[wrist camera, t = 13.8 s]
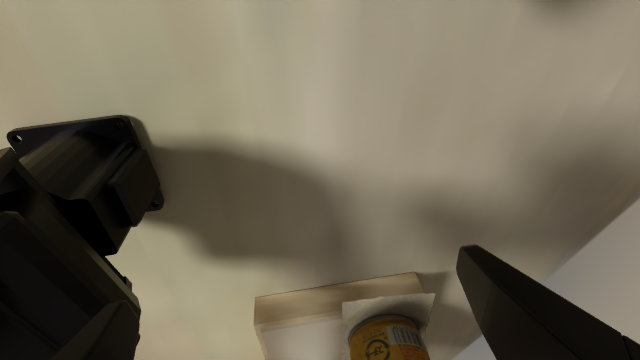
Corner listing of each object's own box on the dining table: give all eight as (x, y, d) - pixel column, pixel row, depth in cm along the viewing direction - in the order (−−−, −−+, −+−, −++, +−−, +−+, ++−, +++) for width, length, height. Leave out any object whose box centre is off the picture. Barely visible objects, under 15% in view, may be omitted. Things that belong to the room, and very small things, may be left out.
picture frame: (278, 371, 35) (278, 402, 32) (255, 297, 28) (253, 329, 26) (408, 348, 35) (418, 377, 33) (414, 271, 29) (428, 300, 26)
